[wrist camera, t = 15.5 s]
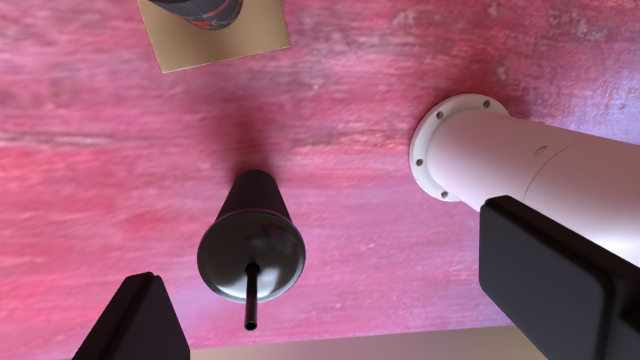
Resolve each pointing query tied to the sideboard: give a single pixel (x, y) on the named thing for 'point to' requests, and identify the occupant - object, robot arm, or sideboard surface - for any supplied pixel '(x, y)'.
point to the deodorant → (204, 11)
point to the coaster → (214, 35)
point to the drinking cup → (251, 246)
